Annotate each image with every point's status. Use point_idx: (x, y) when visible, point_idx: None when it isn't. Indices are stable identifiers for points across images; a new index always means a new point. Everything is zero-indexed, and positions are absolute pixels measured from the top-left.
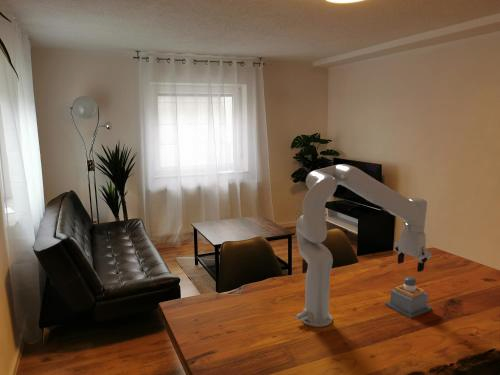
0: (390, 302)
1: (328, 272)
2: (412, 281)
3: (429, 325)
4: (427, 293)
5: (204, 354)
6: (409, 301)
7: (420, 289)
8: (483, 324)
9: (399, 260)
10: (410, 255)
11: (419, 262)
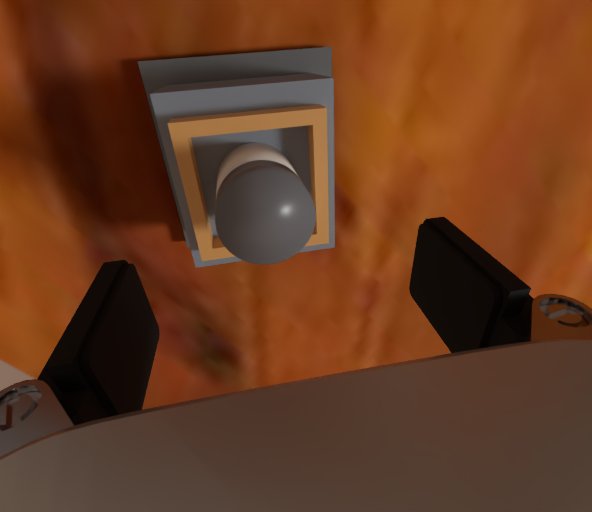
0: (311, 72)
1: None
2: (217, 201)
3: (45, 106)
4: (199, 266)
5: None
6: (164, 90)
7: (222, 247)
8: (17, 332)
9: (444, 246)
10: (223, 394)
11: (63, 378)
